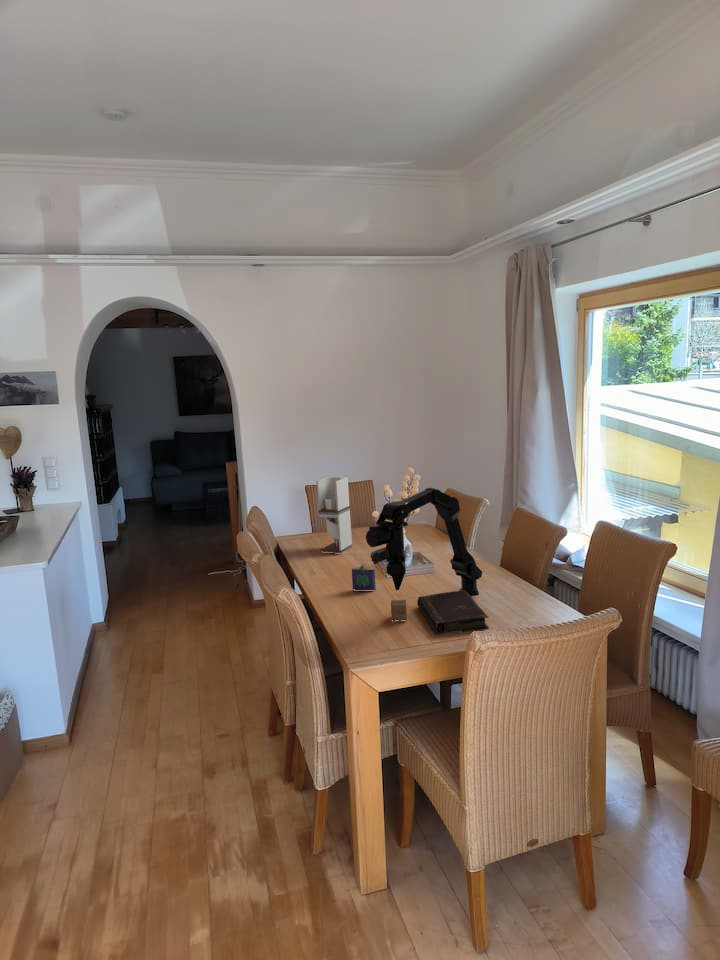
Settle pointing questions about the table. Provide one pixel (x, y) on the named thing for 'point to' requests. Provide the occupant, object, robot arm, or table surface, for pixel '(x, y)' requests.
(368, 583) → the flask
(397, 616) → the metal block
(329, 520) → the display case
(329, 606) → the table surface
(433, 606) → the diary
